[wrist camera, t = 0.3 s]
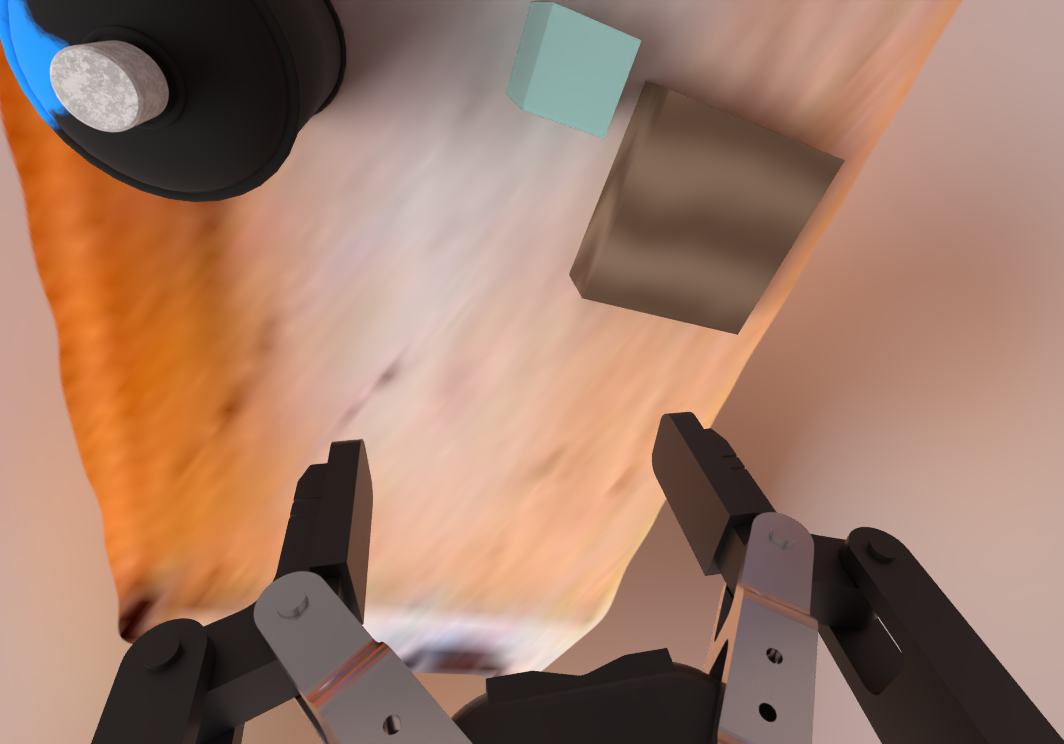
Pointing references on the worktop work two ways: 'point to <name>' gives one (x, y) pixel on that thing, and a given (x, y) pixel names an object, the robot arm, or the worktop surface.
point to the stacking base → (697, 212)
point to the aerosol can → (177, 84)
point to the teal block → (571, 68)
